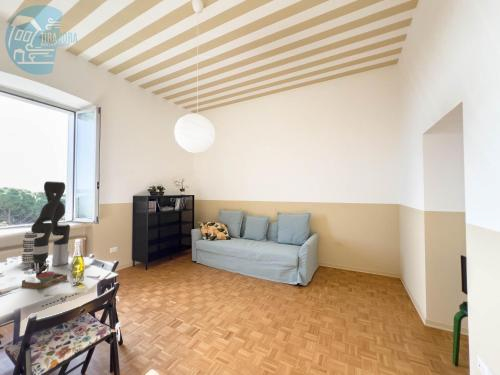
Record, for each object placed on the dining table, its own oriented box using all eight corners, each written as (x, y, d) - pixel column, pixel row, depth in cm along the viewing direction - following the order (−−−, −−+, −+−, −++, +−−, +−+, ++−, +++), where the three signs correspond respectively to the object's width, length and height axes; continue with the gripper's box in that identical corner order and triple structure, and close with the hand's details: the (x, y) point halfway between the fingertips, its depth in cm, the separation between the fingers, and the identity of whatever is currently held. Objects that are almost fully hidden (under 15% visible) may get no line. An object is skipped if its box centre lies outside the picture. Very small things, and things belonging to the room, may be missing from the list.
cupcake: (57, 281, 141) (58, 263, 141) (40, 286, 133) (42, 267, 133) (49, 278, 144) (50, 261, 144) (33, 283, 136) (34, 265, 136)
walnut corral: (49, 276, 148) (50, 271, 148) (67, 279, 145) (67, 273, 145) (21, 286, 132) (22, 280, 132) (40, 289, 129) (40, 283, 129)
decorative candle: (33, 258, 181) (36, 230, 182) (39, 260, 177) (41, 231, 178) (19, 261, 172) (21, 232, 173) (24, 263, 169) (26, 233, 169)
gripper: (54, 251, 142) (52, 276, 142) (39, 249, 145) (37, 274, 145) (41, 254, 135) (39, 281, 135) (26, 252, 137) (24, 278, 137)
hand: (38, 277), depth 140 cm, fingers closed
